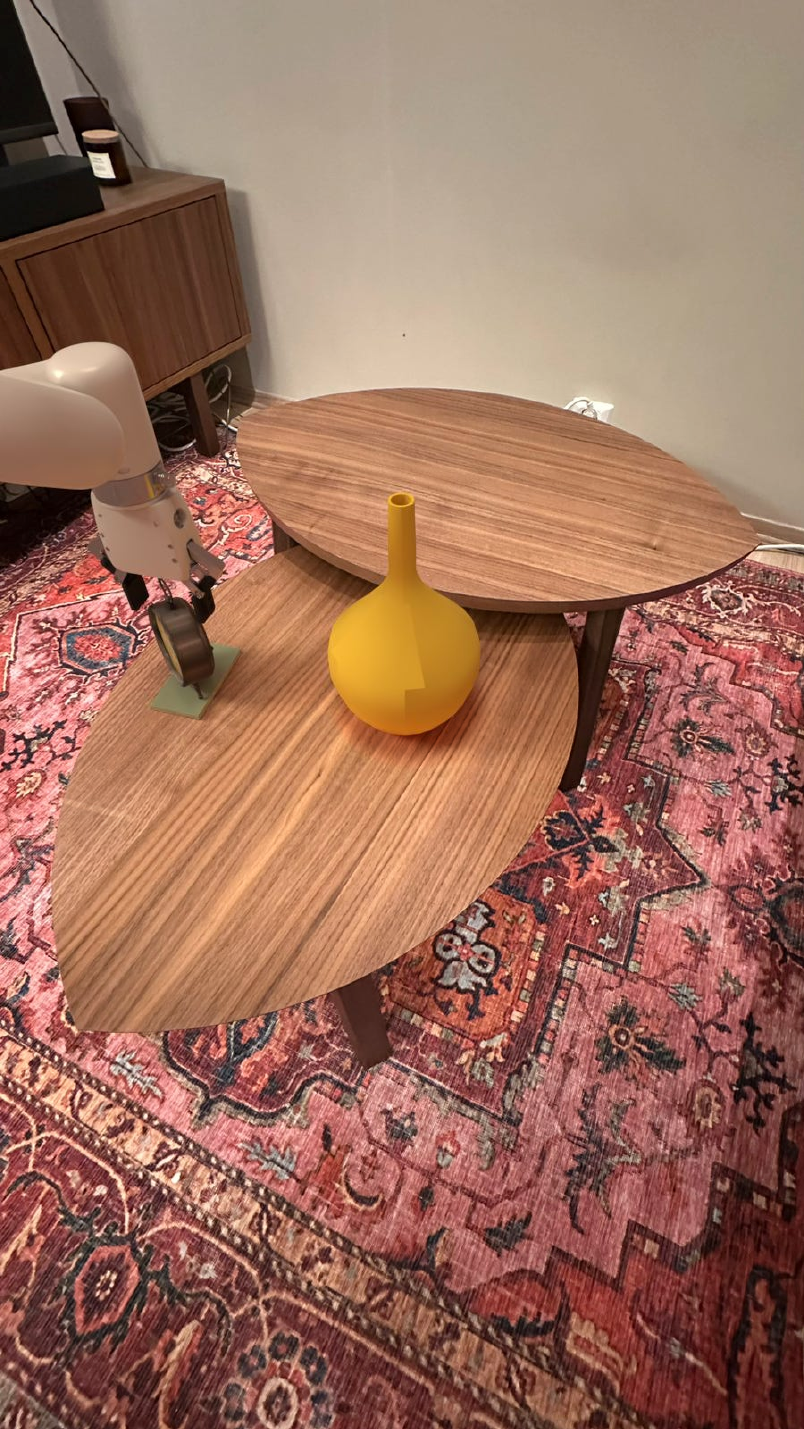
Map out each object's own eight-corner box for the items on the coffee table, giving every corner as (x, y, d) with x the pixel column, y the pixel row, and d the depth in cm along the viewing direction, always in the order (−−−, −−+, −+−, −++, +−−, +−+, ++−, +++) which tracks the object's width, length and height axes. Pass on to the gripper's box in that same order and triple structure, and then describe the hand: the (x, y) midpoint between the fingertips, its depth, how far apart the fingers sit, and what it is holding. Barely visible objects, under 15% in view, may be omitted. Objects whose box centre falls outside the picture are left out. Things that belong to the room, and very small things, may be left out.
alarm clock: (162, 660, 94) (124, 563, 82) (199, 645, 96) (167, 548, 84) (193, 709, 88) (156, 612, 76) (231, 692, 90) (202, 594, 78)
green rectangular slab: (199, 720, 88) (198, 716, 87) (151, 709, 89) (149, 705, 88) (242, 652, 96) (241, 648, 95) (197, 643, 97) (195, 639, 97)
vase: (306, 726, 87) (268, 521, 64) (380, 639, 97) (369, 437, 75) (434, 783, 81) (441, 579, 58) (498, 684, 91) (525, 479, 69)
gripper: (222, 471, 71) (252, 602, 84) (75, 450, 74) (126, 580, 87) (187, 510, 66) (225, 643, 79) (33, 486, 69) (94, 617, 83)
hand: (173, 609), depth 83 cm, fingers open, 8 cm apart
